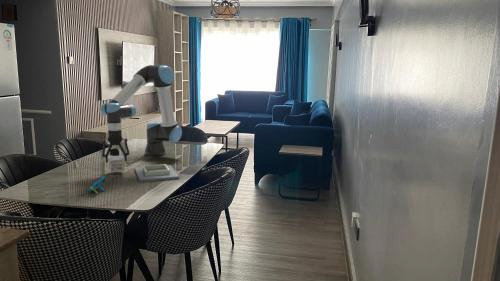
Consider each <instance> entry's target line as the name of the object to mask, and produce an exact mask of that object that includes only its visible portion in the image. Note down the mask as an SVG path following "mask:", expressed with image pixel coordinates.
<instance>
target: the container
mask: <svg viewBox="0 0 500 281" xmlns="http://www.w3.org/2000/svg"><path fill="white" fill-rule="evenodd" d="M108 157H109V166H110V168H108V169H109V171H110V173H117V172H124V171H125V167H124V158H123V152H122V150H121V148H120V147H119V148H118V147H114V148H113V147H112V148H111V150H110V152H109V156H108Z"/></svg>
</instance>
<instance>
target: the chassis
mask: <svg viewBox="0 0 500 281" xmlns="http://www.w3.org/2000/svg"><path fill="white" fill-rule="evenodd" d="M134 171H135V174H136V176H137V179H138V181H139V183H147V182H148V183H149V182H157V181H171V180H179V179H180V176H179V174H178V173H177V172H176V171H175V169H174V167H173V166H172V165H170V164H166V163H163V164H162V163H160V164H147V165H142V166H139V167H138V166H137V167H134Z"/></svg>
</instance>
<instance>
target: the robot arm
mask: <svg viewBox="0 0 500 281" xmlns="http://www.w3.org/2000/svg"><path fill="white" fill-rule="evenodd" d="M174 79H175V73H174V70H173V69H172V67H170V66H168V65H159V64H158V65H157V64H154V65H153V64H149V65H146V66H143V67H142V68H140V69H139V70H137V72H135V73H134V74H133V76H132V78H131V80H130V81H128V83H127V84H126V85H125V86H124V87H123V88H122V89H121V90H120V91H118V92H117V94H116V95H115V96H114V97H113V98H112V99H110V101H109V102H105V103H102V104H101V105H100V113H101V114H102V115H104V116H106V119H107V122H106V123H107V136H108V137H107V139H102V143H103V144H102V152H101V156H102V158H105V163H106V164H107V168H108V169H109V168H110V166H109V157H110V150H111V149H113V146H119V149H121V150H122V157H123V158H124V168H125V167H126V162H127V156H129V155H130V150H129V146H128V139H127V137H126V138H123V135H122V119H127V118H132V117H135V115H137V108H136V106H135V105H134V104H127V102H128V101H130V99H131V98H132V97H134V96H135V94H136V93H137V92H138V91H139V90H140V89H141V88H142V87H145V86H146V85H147V84H149V83H151V84H153V87H154V88H155V89H156V90H157V91H156V92H157V96H158V97H157V98H158V103H159V108H160V109H159V110H160V115H161V121H157V122H156V121H155V122H150V123H147V124H146V145H145V148H144V149H145V150H144V155H145V156H150V157H156V156H157V157H159V156H164V155H166V154H167V150H166V149H167V148H166V146H165V144H164V142H168V143H177V142H178V141H179V140H180V139H181V137H182V134H183V130H182V127H180V126H179V125H178V121H177V120H175V114H174V105H173V101H172V94H171V87H172V84H173V82H174ZM122 142H123V143H124V146H125V149H124V148H123V145H122V144H121V143H122ZM107 143H109V146H108V147H107V148H108V149H107V151H106V145H107ZM125 150H126V152H125Z"/></svg>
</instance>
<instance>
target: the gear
mask: <svg viewBox="0 0 500 281" xmlns="http://www.w3.org/2000/svg"><path fill="white" fill-rule="evenodd" d="M104 179H106V178H105V176H102V177H101V178H100V179H98V180H96V181H95V182H94V184H93V185H91V186H90V187H89V189H88V191H89V192H91V191H92V192H95V194H99V192H98V191H97V190H96V189H98V188H99V189H100V190H102V191H103V192H104V191H105V189H104V188H103V187H102V186H101V183H102V182H103V181H104Z"/></svg>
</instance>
